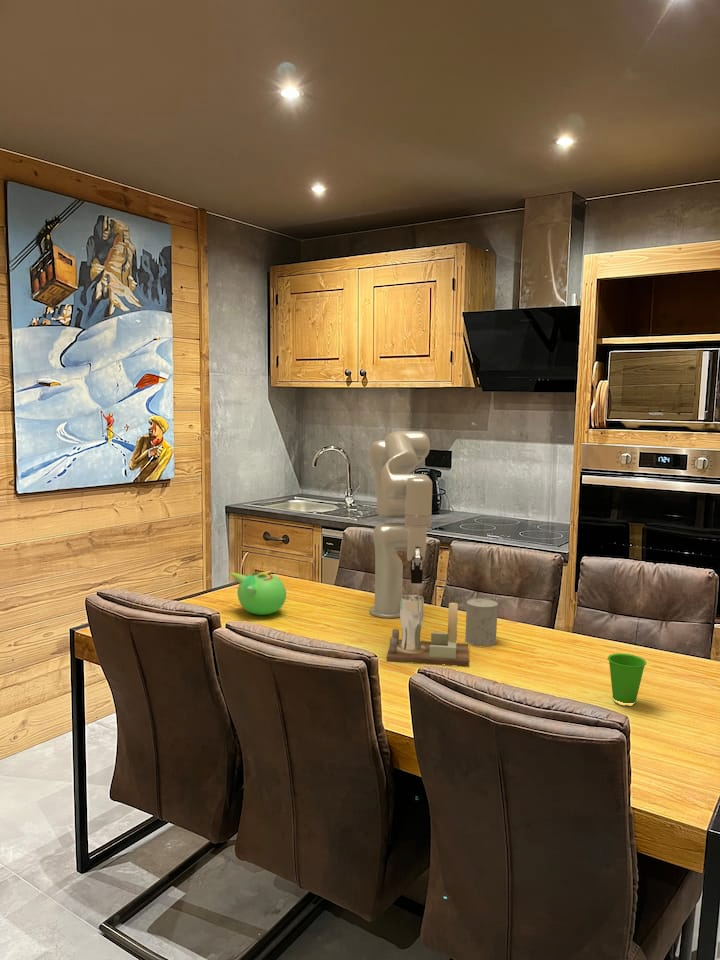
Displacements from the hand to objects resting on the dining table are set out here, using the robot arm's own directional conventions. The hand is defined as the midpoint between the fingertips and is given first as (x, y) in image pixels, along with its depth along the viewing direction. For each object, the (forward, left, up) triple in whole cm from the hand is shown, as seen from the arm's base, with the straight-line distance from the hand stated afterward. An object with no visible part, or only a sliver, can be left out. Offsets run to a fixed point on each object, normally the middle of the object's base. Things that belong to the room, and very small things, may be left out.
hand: (416, 579), depth 210 cm
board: (0, +4, -22) cm, 23 cm away
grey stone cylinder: (-15, +20, -23) cm, 33 cm away
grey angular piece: (0, +8, -21) cm, 22 cm away
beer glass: (0, -1, -21) cm, 21 cm away
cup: (+25, +54, -22) cm, 63 cm away
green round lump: (-30, -54, -23) cm, 66 cm away
